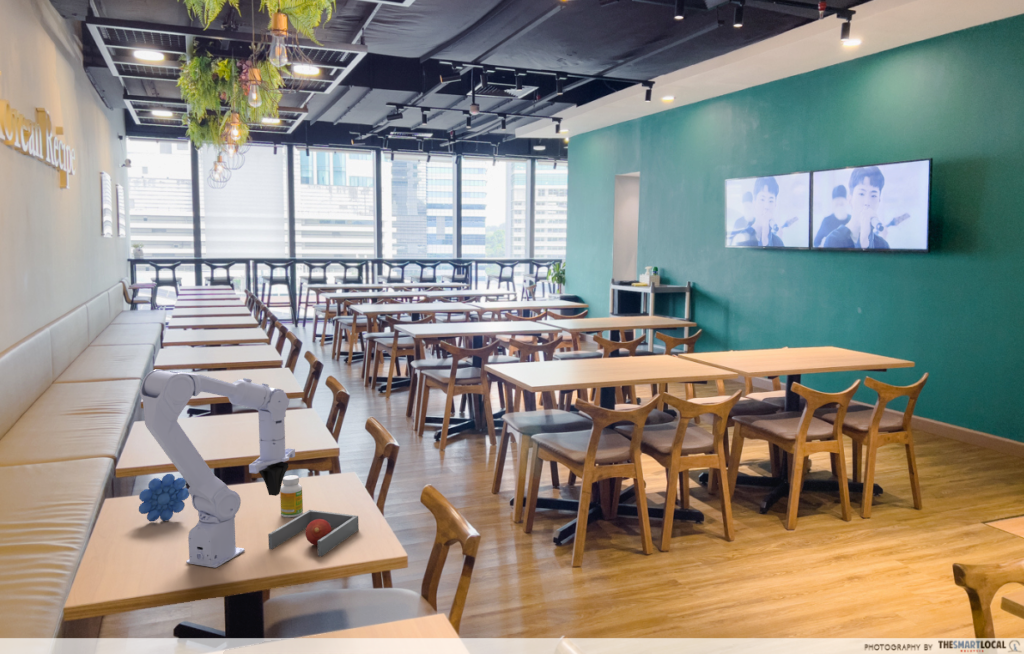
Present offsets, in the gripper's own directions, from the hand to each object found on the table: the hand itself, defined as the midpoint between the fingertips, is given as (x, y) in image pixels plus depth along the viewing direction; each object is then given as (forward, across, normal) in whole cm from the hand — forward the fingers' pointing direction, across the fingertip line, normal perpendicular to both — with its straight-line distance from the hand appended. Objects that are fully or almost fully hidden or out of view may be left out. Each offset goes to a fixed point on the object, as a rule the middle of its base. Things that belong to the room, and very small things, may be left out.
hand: (274, 494), depth 167 cm
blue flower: (+10, 0, +32) cm, 34 cm away
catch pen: (+10, +1, -10) cm, 14 cm away
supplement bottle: (+10, +13, +5) cm, 17 cm away
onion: (+5, -5, -15) cm, 17 cm away
